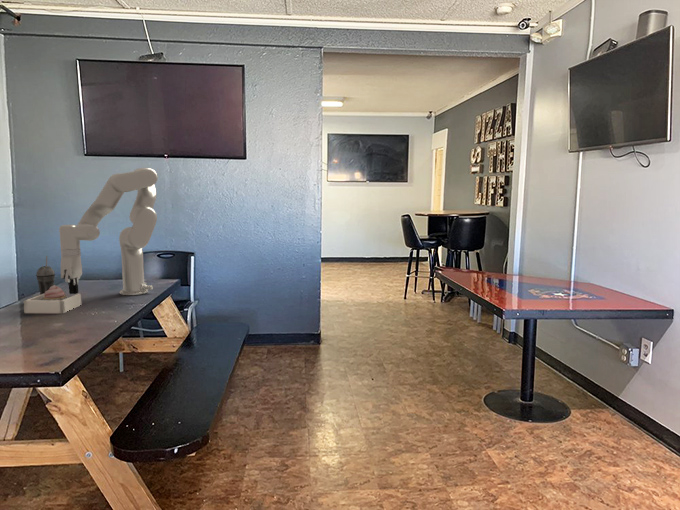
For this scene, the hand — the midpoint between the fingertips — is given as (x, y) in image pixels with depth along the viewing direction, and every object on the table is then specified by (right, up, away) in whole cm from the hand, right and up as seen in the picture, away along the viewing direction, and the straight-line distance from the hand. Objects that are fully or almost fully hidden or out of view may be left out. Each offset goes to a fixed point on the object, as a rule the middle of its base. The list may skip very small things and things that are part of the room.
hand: (73, 293), depth 218 cm
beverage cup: (-11, -3, -1) cm, 12 cm away
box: (0, -5, -15) cm, 15 cm away
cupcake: (0, -5, -14) cm, 15 cm away
